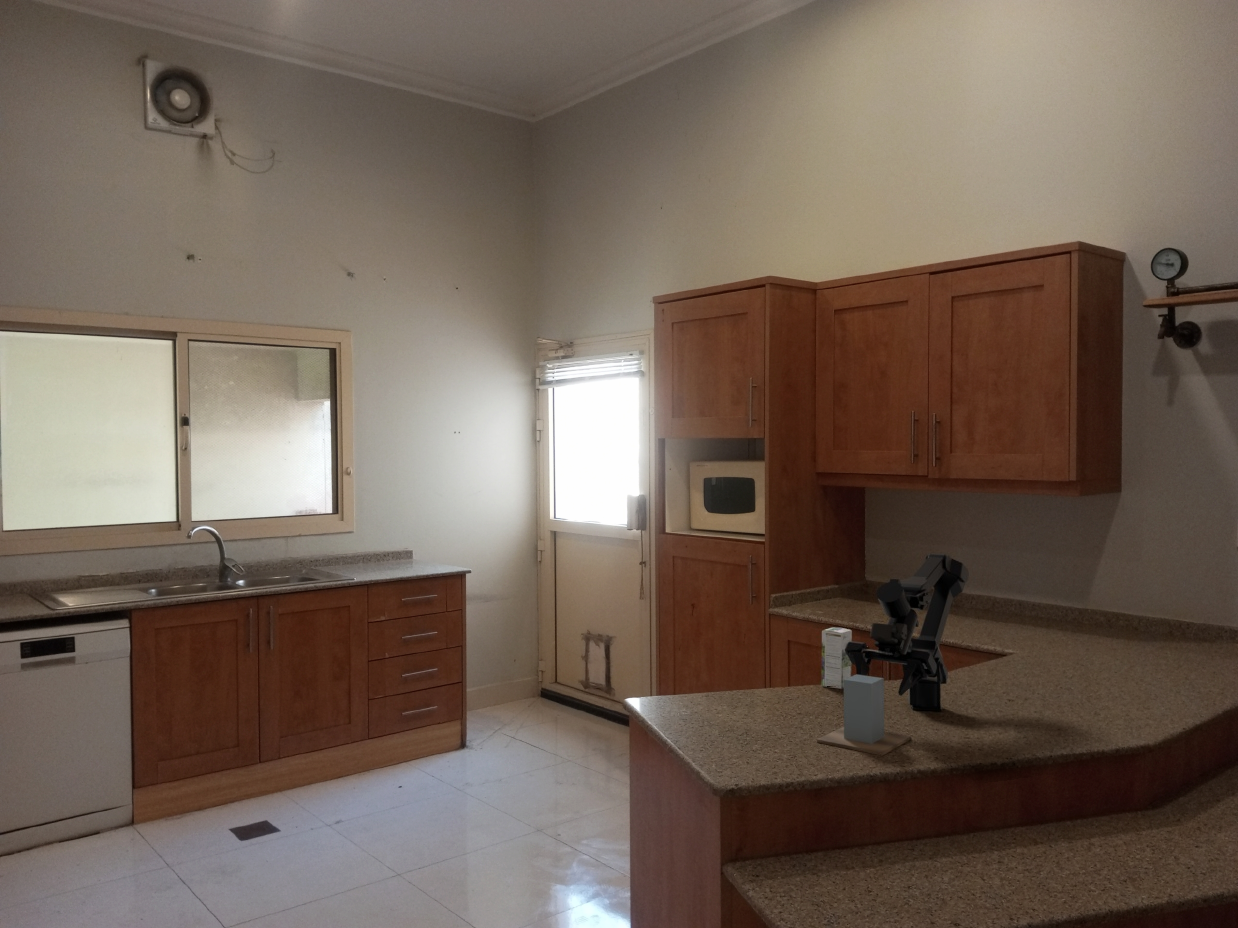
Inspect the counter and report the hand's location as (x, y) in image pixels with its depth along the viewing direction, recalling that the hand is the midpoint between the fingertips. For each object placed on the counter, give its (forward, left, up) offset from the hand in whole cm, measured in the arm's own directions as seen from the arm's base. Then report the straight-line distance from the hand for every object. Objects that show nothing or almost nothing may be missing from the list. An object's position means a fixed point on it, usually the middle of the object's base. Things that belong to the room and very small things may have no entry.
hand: (878, 690), depth 194 cm
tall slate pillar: (+3, +6, -8) cm, 11 cm away
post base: (+3, +6, -9) cm, 11 cm away
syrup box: (+8, -42, -9) cm, 43 cm away
